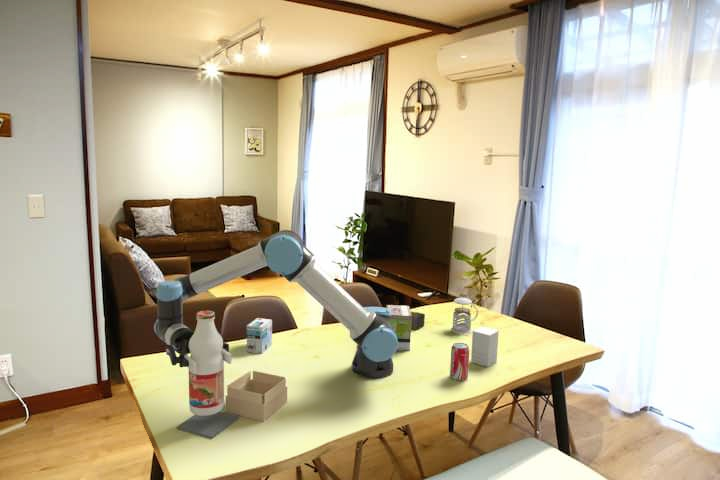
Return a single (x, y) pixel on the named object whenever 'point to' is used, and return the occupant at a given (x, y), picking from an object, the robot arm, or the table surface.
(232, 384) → the carton
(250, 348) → the light bulb box
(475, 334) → the supplement box
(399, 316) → the tea box
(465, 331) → the french press
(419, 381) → the table surface
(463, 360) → the soda can
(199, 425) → the coaster
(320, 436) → the table surface
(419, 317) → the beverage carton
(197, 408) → the fruit juice
